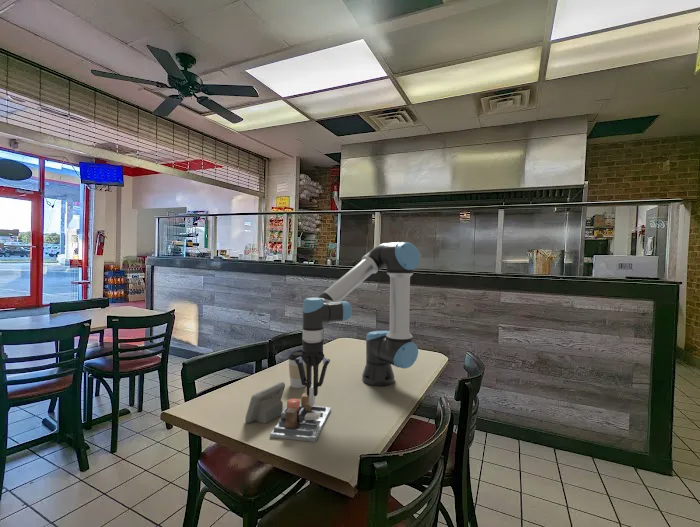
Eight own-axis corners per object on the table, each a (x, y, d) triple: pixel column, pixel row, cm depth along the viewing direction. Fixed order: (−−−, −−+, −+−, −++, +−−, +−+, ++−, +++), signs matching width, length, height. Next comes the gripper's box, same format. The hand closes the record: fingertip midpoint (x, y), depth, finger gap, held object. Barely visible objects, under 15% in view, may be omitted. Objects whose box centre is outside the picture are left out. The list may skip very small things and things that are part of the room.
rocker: (320, 415, 120) (320, 411, 120) (318, 419, 117) (318, 415, 117) (307, 416, 120) (306, 413, 120) (304, 420, 118) (304, 417, 118)
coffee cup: (304, 389, 149) (304, 355, 148) (285, 387, 150) (285, 354, 150) (311, 382, 157) (311, 350, 157) (292, 380, 159) (292, 348, 159)
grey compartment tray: (330, 410, 129) (330, 399, 129) (315, 442, 107) (315, 428, 107) (292, 407, 131) (292, 396, 131) (270, 437, 110) (270, 423, 110)
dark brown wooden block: (296, 425, 114) (297, 408, 114) (294, 430, 111) (294, 412, 111) (288, 425, 115) (288, 408, 115) (285, 429, 112) (285, 412, 112)
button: (301, 407, 122) (301, 399, 121) (297, 413, 117) (297, 404, 117) (289, 406, 122) (289, 398, 122) (285, 411, 118) (285, 403, 118)
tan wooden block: (311, 409, 127) (311, 393, 127) (309, 412, 124) (309, 396, 124) (303, 408, 127) (303, 392, 127) (301, 411, 125) (301, 396, 124)
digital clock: (277, 405, 133) (277, 378, 133) (292, 412, 127) (292, 384, 127) (239, 420, 121) (239, 390, 121) (253, 429, 115) (253, 397, 115)
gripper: (332, 338, 127) (331, 401, 128) (298, 337, 129) (298, 398, 130) (327, 343, 120) (327, 410, 120) (292, 341, 122) (291, 407, 123)
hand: (312, 404), depth 125 cm, fingers closed
